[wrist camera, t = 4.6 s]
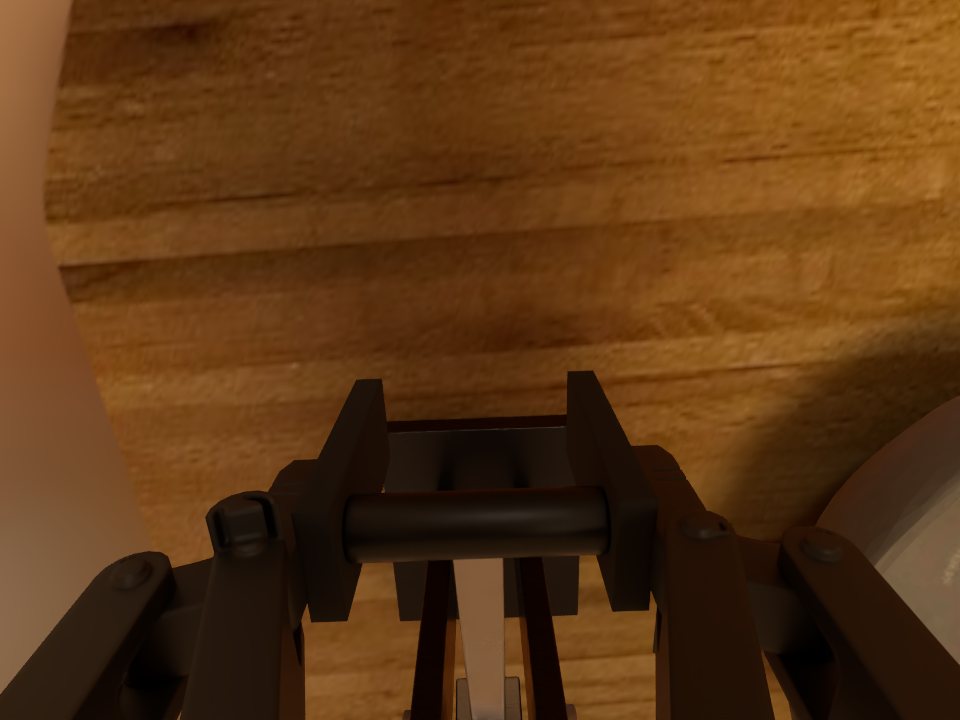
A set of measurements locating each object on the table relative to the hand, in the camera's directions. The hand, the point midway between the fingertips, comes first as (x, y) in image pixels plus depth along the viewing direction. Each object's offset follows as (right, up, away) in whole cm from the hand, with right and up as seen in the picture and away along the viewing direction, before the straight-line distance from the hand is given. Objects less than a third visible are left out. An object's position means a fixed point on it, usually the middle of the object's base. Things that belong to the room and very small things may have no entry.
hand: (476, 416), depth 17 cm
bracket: (0, -7, +14) cm, 15 cm away
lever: (0, -6, 0) cm, 6 cm away
